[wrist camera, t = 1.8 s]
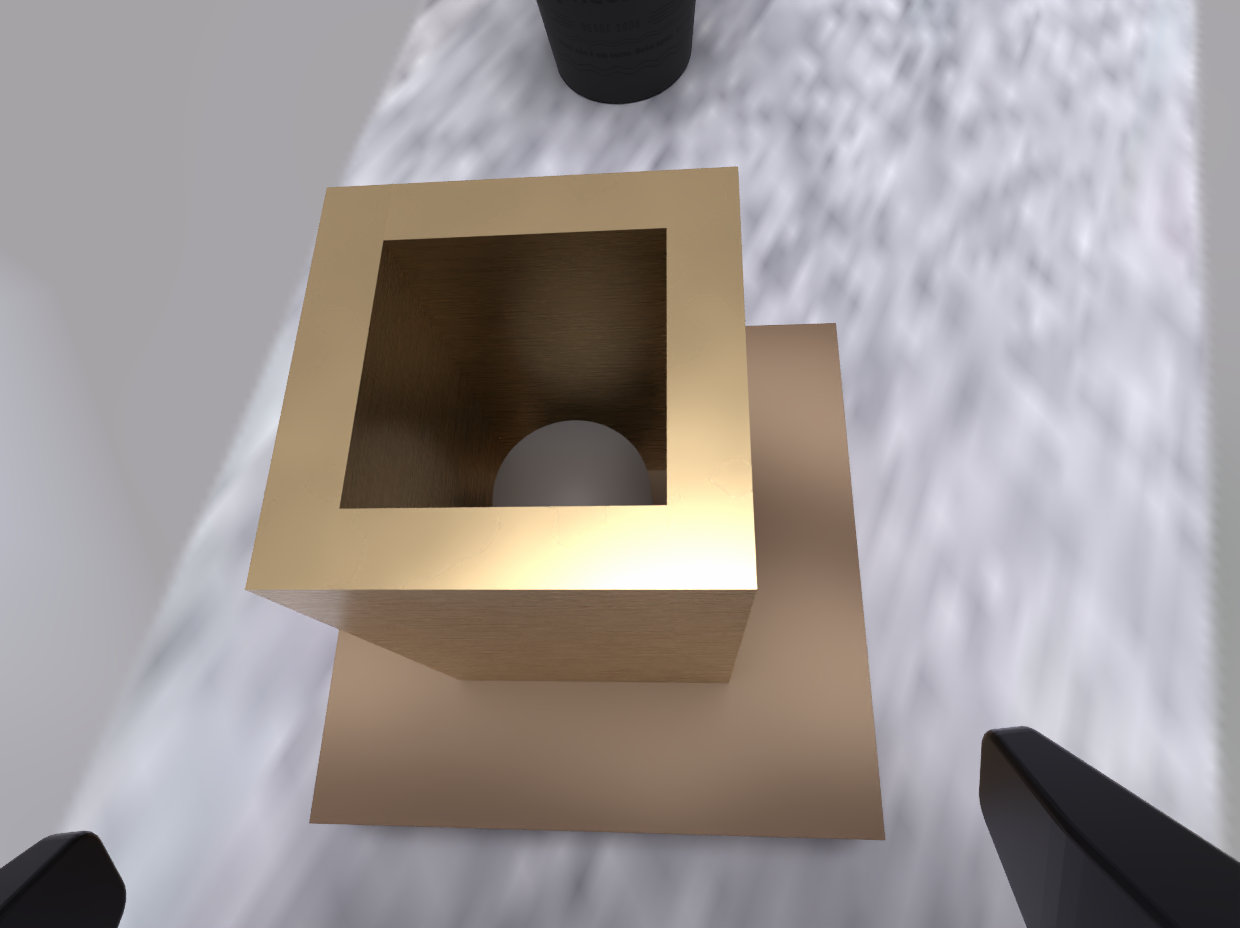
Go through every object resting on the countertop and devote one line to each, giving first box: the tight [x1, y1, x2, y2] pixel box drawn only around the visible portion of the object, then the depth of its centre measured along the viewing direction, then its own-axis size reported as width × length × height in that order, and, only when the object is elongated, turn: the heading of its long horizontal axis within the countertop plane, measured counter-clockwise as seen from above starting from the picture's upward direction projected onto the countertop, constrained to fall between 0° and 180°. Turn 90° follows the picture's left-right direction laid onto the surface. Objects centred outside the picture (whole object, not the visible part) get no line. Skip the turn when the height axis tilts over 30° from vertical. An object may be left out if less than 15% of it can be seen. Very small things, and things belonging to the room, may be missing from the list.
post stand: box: [309, 323, 885, 840], centre depth 18 cm, size 12×12×6 cm
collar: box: [245, 167, 757, 683], centre depth 14 cm, size 6×6×9 cm
